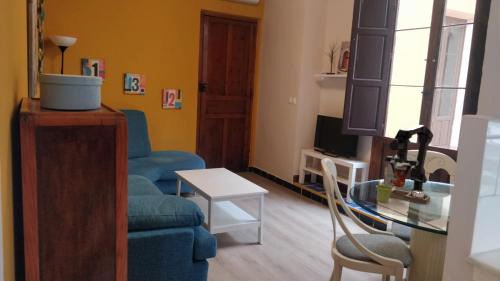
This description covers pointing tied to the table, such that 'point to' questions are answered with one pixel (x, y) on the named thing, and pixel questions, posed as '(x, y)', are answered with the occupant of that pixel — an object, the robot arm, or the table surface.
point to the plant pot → (383, 193)
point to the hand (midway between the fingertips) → (399, 174)
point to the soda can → (399, 176)
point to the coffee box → (388, 174)
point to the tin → (418, 194)
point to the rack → (408, 196)
